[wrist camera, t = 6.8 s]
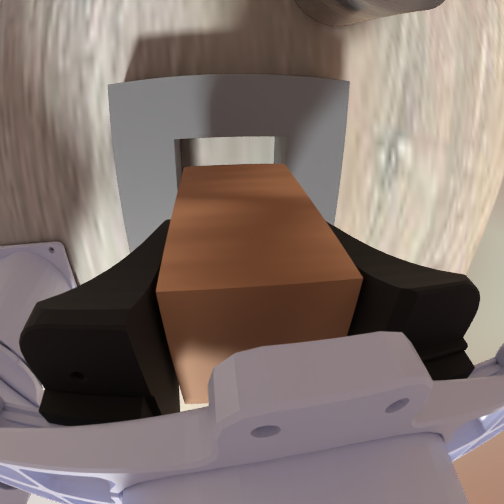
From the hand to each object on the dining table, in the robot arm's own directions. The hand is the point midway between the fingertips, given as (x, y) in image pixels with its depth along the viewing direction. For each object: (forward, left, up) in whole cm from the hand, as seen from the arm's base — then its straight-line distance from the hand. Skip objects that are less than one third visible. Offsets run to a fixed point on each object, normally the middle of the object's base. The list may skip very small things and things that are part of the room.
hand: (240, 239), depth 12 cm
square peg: (0, 0, -2) cm, 3 cm away
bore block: (0, 0, -8) cm, 8 cm away
